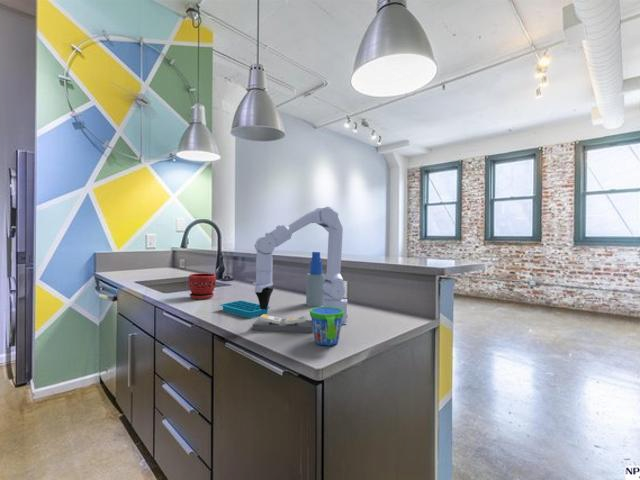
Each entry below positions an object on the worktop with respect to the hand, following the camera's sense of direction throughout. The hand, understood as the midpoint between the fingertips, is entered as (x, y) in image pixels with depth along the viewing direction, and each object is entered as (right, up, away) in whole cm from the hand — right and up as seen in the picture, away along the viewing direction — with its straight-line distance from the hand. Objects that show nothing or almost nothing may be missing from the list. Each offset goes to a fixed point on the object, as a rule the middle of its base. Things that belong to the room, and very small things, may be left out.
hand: (263, 309), depth 112 cm
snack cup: (+22, -8, -13) cm, 27 cm away
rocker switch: (+11, -4, -1) cm, 12 cm away
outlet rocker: (+2, -4, 0) cm, 4 cm away
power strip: (+7, -7, +1) cm, 10 cm away
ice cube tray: (-12, -7, +23) cm, 27 cm away
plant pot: (-40, -5, +50) cm, 64 cm away
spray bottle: (+18, -6, +38) cm, 43 cm away
